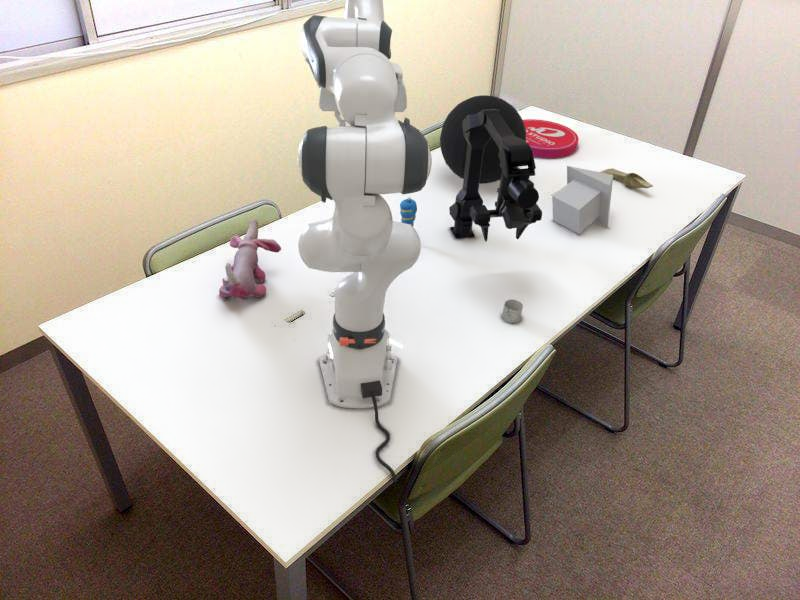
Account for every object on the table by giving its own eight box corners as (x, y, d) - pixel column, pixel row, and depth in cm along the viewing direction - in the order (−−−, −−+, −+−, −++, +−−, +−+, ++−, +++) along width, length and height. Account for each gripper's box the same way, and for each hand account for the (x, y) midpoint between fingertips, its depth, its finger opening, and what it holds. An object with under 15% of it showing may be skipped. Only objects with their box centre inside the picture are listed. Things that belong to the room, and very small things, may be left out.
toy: (299, 270, 187) (288, 223, 179) (243, 315, 171) (228, 266, 163) (250, 258, 196) (238, 213, 188) (193, 300, 180) (176, 253, 172)
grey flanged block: (632, 205, 220) (636, 162, 206) (586, 246, 212) (587, 205, 199) (592, 185, 229) (593, 144, 216) (546, 224, 222) (544, 183, 209)
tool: (597, 174, 249) (599, 163, 246) (610, 171, 251) (612, 160, 248) (638, 197, 232) (641, 185, 229) (652, 193, 234) (655, 182, 231)
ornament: (395, 240, 203) (397, 197, 194) (403, 233, 207) (405, 190, 198) (410, 245, 201) (413, 202, 192) (417, 237, 205) (420, 195, 196)
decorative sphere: (427, 189, 230) (433, 106, 212) (447, 155, 253) (455, 77, 235) (511, 205, 224) (526, 121, 206) (524, 168, 247) (539, 90, 229)
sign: (543, 165, 250) (591, 146, 266) (545, 156, 248) (593, 138, 264) (487, 137, 268) (535, 121, 284) (488, 129, 266) (537, 114, 282)
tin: (516, 310, 178) (518, 298, 176) (523, 322, 175) (525, 309, 172) (499, 312, 177) (501, 300, 175) (506, 324, 174) (508, 311, 171)
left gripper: (316, 73, 143) (318, 133, 151) (409, 75, 145) (406, 134, 153) (316, 64, 148) (318, 122, 156) (406, 65, 150) (403, 123, 158)
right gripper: (485, 207, 163) (477, 258, 172) (555, 202, 166) (543, 253, 176) (472, 185, 171) (465, 236, 181) (539, 181, 175) (529, 231, 184)
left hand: (362, 128), depth 155 cm, fingers open, 8 cm apart
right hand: (501, 239), depth 180 cm, fingers open, 9 cm apart
